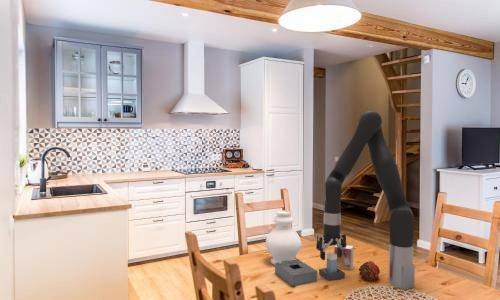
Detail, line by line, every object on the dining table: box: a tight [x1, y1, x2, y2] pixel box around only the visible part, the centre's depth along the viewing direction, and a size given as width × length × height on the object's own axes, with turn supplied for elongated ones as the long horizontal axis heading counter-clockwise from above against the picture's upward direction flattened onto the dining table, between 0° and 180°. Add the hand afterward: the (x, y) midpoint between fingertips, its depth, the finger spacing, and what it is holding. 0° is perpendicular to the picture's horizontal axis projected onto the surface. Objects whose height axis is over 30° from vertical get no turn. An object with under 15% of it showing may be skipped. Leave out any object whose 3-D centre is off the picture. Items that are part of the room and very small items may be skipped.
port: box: [274, 258, 318, 288], centre depth 161 cm, size 16×12×6 cm
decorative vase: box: [265, 209, 303, 266], centre depth 180 cm, size 18×18×25 cm
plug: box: [326, 252, 337, 273], centre depth 161 cm, size 3×3×10 cm
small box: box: [333, 244, 355, 271], centre depth 172 cm, size 8×6×10 cm
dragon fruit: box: [358, 260, 381, 281], centre depth 159 cm, size 8×8×12 cm
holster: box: [318, 267, 346, 282], centre depth 161 cm, size 8×8×3 cm
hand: (331, 258), depth 161 cm, fingers open, 8 cm apart
